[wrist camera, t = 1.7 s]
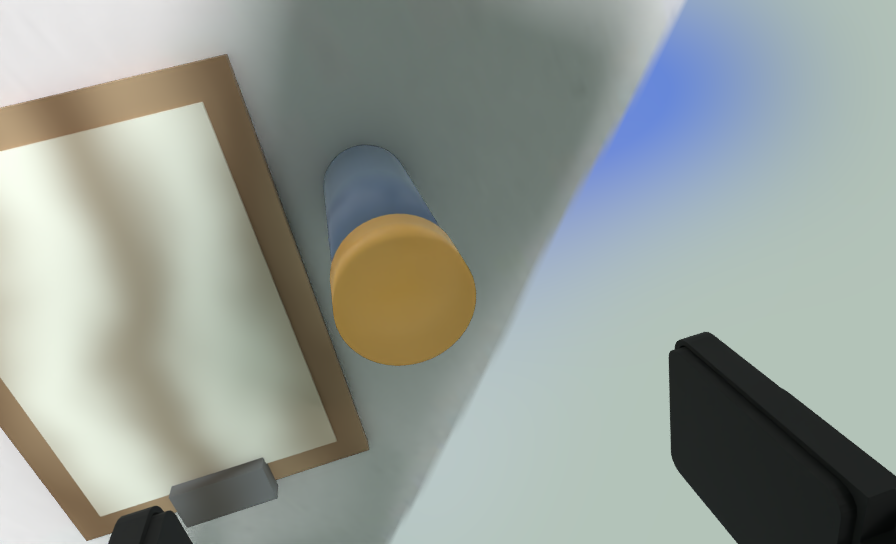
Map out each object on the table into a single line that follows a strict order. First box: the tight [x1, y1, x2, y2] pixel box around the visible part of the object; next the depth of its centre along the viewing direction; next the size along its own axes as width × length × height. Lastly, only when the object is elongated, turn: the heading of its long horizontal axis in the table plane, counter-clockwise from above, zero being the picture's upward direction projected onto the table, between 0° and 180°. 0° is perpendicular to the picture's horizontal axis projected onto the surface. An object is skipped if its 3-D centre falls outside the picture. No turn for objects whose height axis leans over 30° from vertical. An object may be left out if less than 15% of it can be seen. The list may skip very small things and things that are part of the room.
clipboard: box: [0, 54, 369, 541], centre depth 27 cm, size 16×22×2 cm
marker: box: [323, 145, 476, 366], centre depth 22 cm, size 4×4×12 cm
